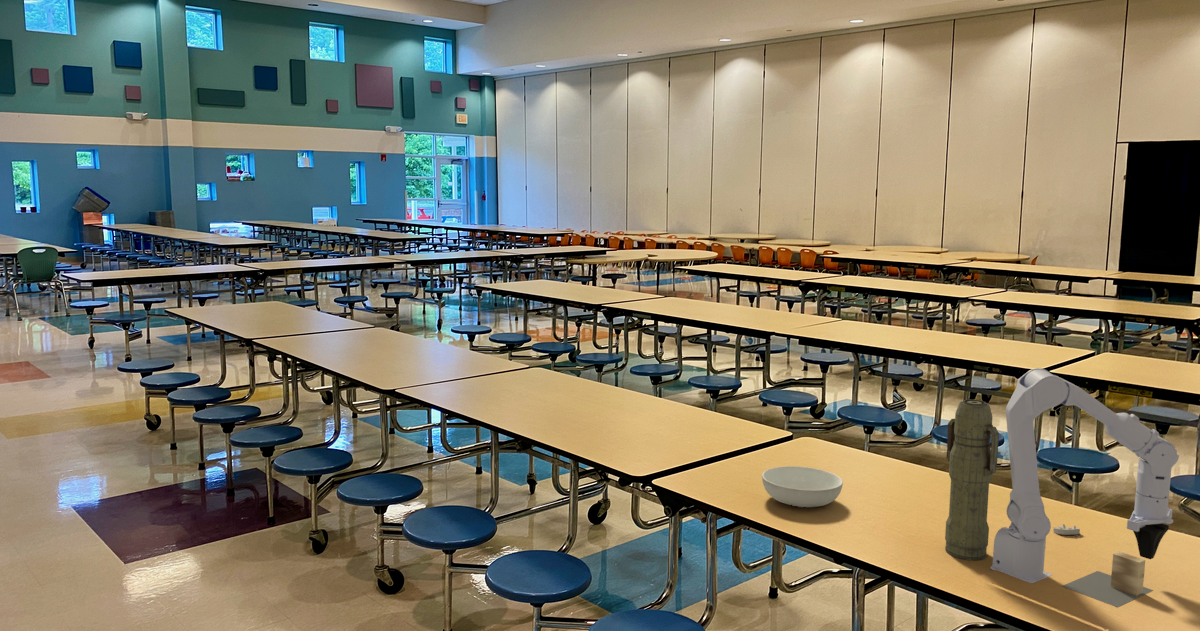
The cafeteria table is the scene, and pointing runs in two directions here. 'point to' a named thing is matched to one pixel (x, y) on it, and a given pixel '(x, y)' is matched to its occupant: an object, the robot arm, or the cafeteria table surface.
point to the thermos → (970, 479)
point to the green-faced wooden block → (1127, 573)
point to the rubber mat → (1102, 589)
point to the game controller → (1066, 530)
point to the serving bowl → (802, 485)
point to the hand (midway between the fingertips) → (1146, 557)
